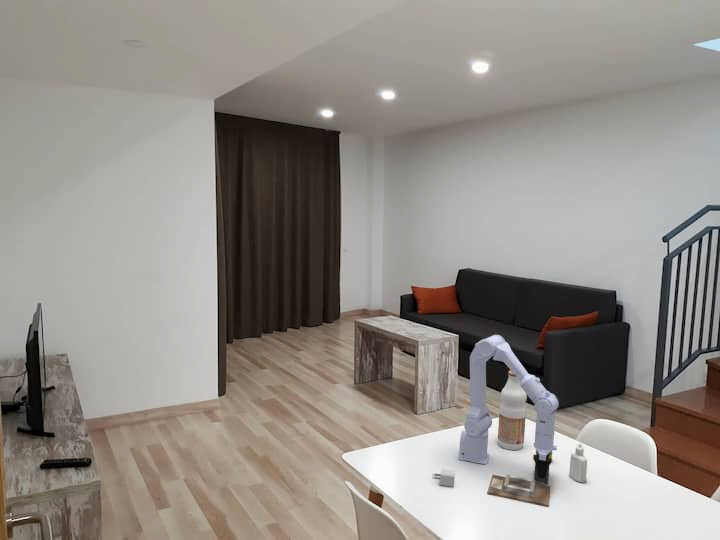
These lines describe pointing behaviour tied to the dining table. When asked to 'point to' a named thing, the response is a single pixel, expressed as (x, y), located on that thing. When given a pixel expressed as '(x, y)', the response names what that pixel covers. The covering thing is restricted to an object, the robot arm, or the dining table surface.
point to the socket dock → (519, 489)
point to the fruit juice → (512, 414)
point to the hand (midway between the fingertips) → (541, 472)
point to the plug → (541, 480)
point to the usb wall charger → (446, 477)
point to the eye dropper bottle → (578, 465)
